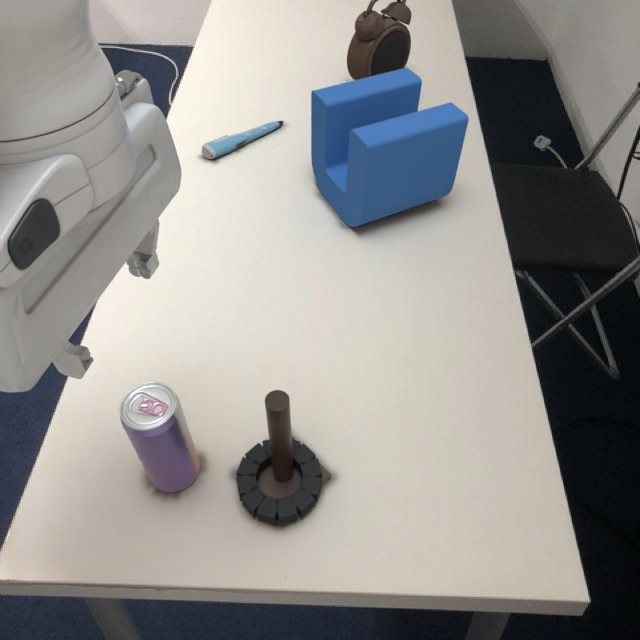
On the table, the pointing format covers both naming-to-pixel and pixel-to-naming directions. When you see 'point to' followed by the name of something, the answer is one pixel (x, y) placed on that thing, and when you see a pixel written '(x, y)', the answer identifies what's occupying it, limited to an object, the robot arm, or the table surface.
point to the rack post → (281, 450)
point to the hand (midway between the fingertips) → (114, 316)
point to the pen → (236, 140)
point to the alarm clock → (380, 41)
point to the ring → (286, 506)
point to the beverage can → (160, 435)
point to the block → (383, 146)
